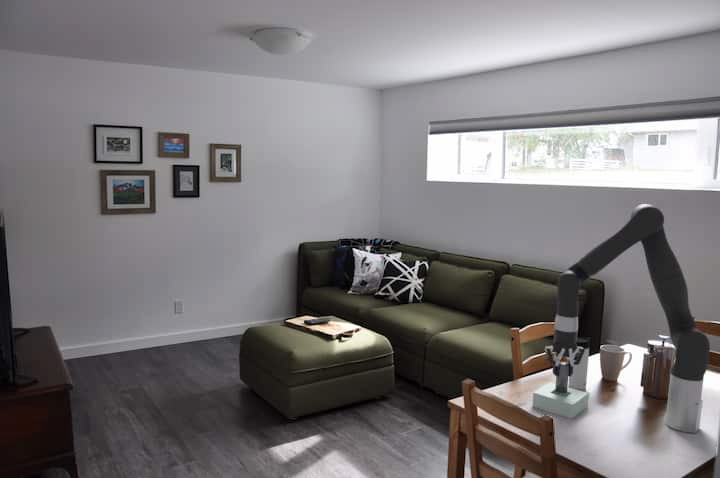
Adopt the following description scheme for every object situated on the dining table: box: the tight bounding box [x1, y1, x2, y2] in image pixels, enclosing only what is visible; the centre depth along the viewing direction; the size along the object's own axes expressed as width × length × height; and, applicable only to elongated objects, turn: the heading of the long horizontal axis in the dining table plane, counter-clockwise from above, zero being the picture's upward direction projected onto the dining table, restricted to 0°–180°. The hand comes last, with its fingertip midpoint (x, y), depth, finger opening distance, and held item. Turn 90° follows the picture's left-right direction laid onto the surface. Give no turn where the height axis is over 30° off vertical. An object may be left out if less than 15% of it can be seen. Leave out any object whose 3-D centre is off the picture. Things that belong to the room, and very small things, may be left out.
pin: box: [555, 361, 569, 393], centre depth 194 cm, size 4×4×10 cm
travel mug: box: [568, 336, 592, 392], centre depth 211 cm, size 6×7×20 cm
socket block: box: [532, 381, 589, 420], centre depth 195 cm, size 14×14×5 cm
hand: (562, 375), depth 194 cm, fingers closed on pin, 4 cm apart
